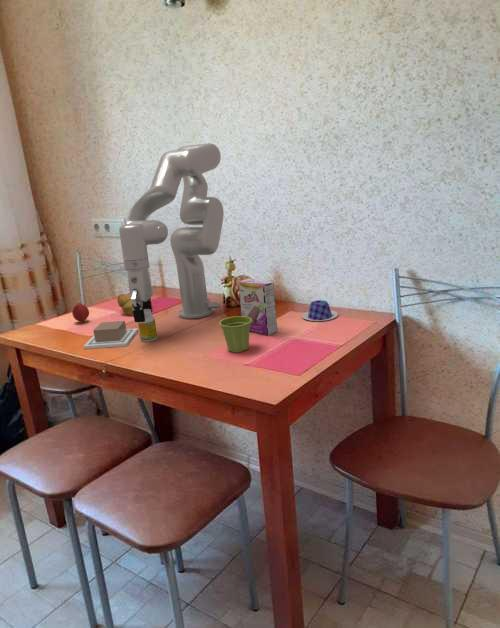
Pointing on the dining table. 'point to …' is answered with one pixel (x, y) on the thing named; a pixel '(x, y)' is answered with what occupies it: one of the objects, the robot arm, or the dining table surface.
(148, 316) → the supplement bottle
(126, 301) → the olive yellow lumpy piece
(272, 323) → the candy bar box
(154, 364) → the dining table surface
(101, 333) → the block on square base
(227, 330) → the plant pot
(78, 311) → the red round fruit
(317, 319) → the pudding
